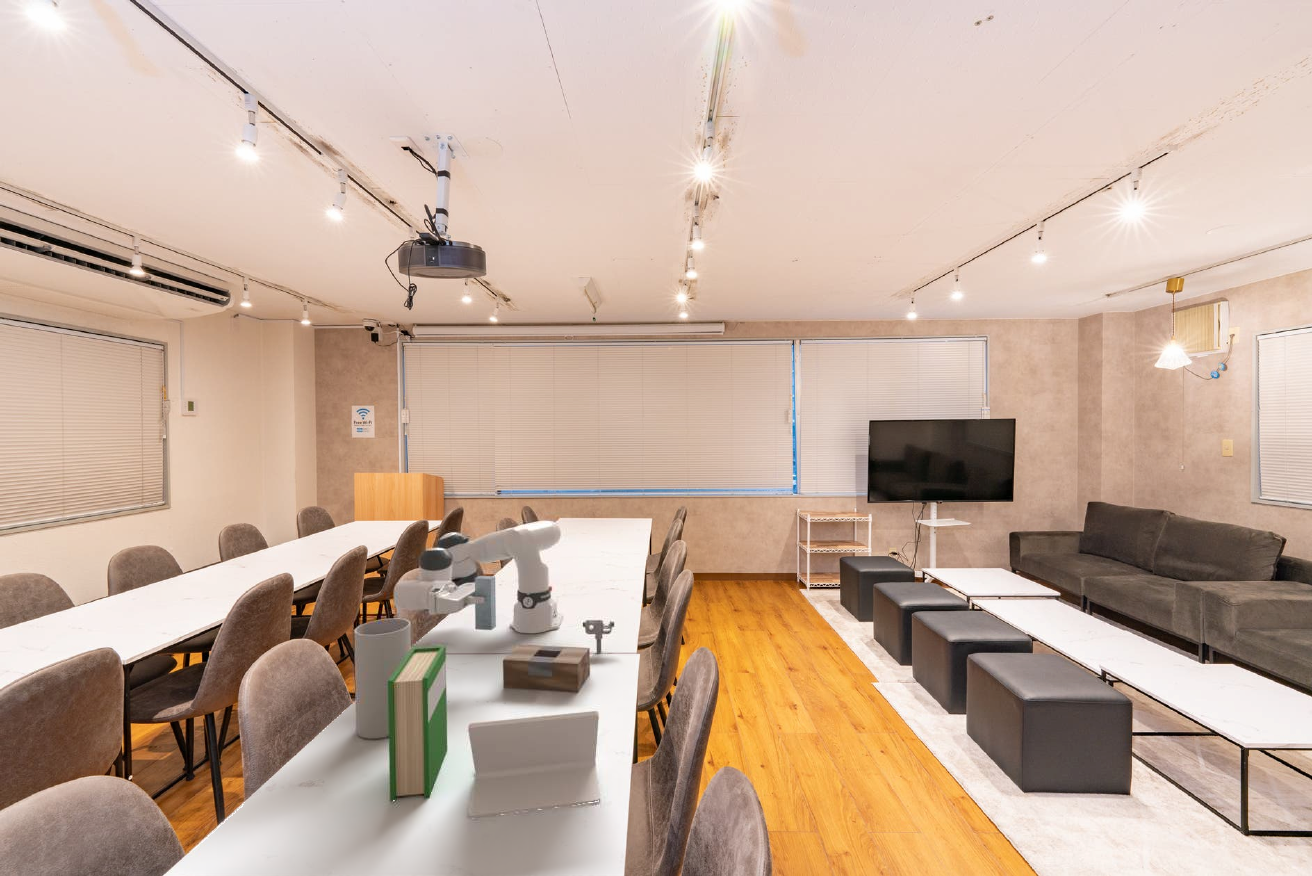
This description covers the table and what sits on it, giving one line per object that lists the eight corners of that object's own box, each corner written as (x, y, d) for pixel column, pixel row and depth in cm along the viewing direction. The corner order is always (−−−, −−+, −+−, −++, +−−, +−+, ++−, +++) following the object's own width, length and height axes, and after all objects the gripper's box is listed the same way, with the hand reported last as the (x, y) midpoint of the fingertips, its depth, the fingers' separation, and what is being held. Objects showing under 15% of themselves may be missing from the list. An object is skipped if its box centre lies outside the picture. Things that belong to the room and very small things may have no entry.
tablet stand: (601, 803, 114) (600, 717, 114) (467, 821, 109) (466, 730, 109) (593, 753, 132) (592, 678, 131) (478, 766, 127) (477, 689, 127)
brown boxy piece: (519, 670, 177) (519, 644, 177) (589, 674, 174) (589, 647, 174) (503, 687, 165) (502, 659, 165) (578, 692, 162) (577, 663, 162)
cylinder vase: (400, 710, 153) (398, 615, 152) (420, 727, 144) (418, 626, 144) (349, 727, 144) (347, 627, 144) (366, 746, 135) (364, 639, 135)
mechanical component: (613, 653, 190) (613, 622, 190) (582, 653, 190) (582, 623, 190) (614, 650, 193) (614, 619, 193) (584, 650, 193) (583, 620, 193)
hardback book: (429, 798, 116) (427, 678, 116) (390, 802, 115) (387, 680, 114) (447, 750, 133) (445, 645, 133) (413, 753, 132) (411, 648, 132)
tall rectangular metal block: (480, 626, 174) (479, 576, 174) (495, 626, 174) (495, 576, 173) (475, 629, 171) (474, 578, 171) (491, 630, 171) (490, 579, 170)
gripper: (461, 596, 185) (502, 598, 183) (426, 617, 164) (472, 619, 162) (461, 576, 185) (502, 578, 182) (426, 594, 164) (472, 596, 162)
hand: (488, 597), depth 172 cm, fingers closed on tall rectangular metal block, 3 cm apart
